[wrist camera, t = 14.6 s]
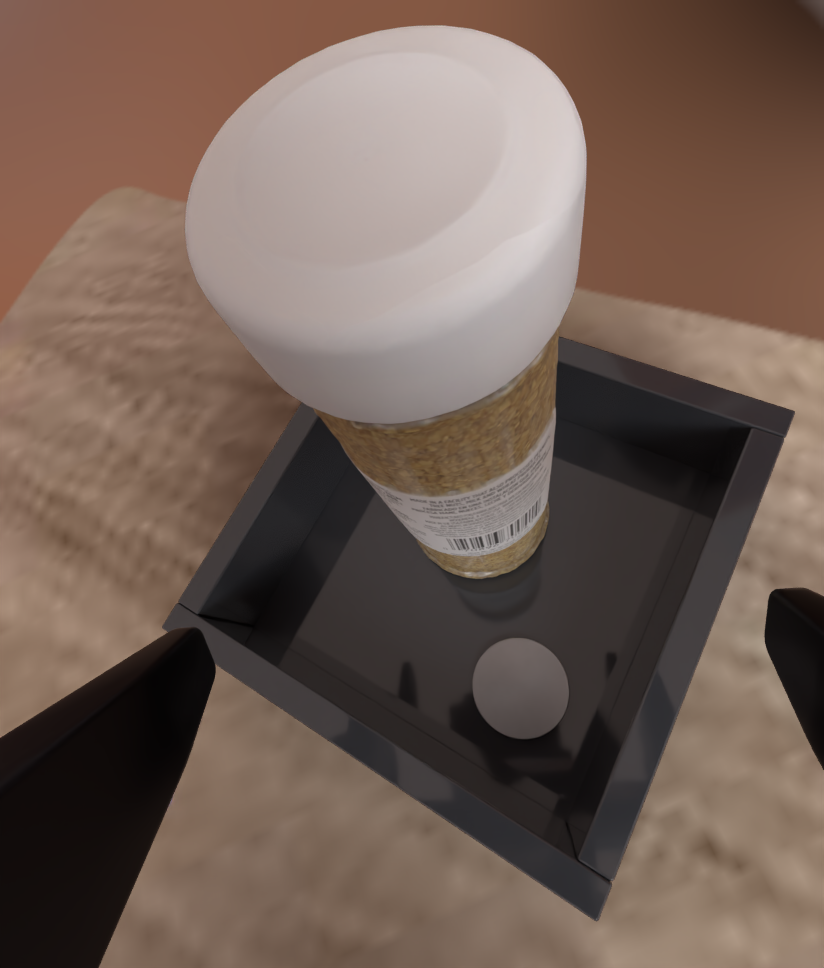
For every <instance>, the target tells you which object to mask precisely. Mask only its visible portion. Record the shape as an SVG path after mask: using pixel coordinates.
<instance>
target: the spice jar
mask: <svg viewBox="0 0 824 968" xmlns="http://www.w3.org/2000/svg"><path fill="white" fill-rule="evenodd" d="M586 155H587V154H586V143H585V138H584V133H583V127H582V122H581V119H580V117H579V114H578V112H577V109H576V107H575V104H574V102H573V100H572V98H571V97H570V95H569V93H568V91H567V89H566V88H565V86H564V85H563V83H562V82H561V81H560V79H559V78H558V77H557V75H555V73H553V71H551V70H550V68H548V67H547V66H546V65H545V64H544V63H543V62H542V61H541V60H540V59H539V58H537V57H536V56H535V55H534V54H532V53H531V52H529V51H527V50H525V49H524V48H522V47H520V46H518V45H516V44H514V43H512V42H510V41H508V40H505V39H503V38H500V37H497V36H494V35H492V34H489V33H485V32H481V31H477V30H474V29H469V28H459V27H451V26H410V27H399V28H394V29H388V30H382V31H377V32H373V33H370V34H366V35H363V36H359V37H356V38H353V39H349V40H347V41H344V42H341V43H338V44H336V45H332V46H330V47H327V48H326V49H323V50H321V51H319V52H317V53H315V54H313V55H311V56H309V57H307V58H305V59H303V60H300V61H299V62H297V63H296V64H294V65H293V66H291V67H289V68H288V69H286V70H285V71H283V72H282V73H280V74H279V75H277V76H276V77H274V78H273V79H272V80H270V81H269V82H268V83H267V84H265V85H264V86H263V87H261V88H260V89H259V90H258V91H256V92H255V93H254V94H253V95H252V96H251V97H249V98H248V99H247V100H246V101H245V102H244V103H243V104H242V105H241V106H240V107H239V108H238V109H237V110H236V111H235V113H233V115H232V116H231V117H230V118H229V119H228V120H227V121H226V122H225V124H224V125H223V126H222V128H221V129H220V130H219V132H218V133H217V135H216V136H215V138H214V139H213V141H212V143H211V144H210V146H209V147H208V149H207V151H206V153H205V154H204V156H203V158H202V160H201V162H200V164H199V166H198V169H197V171H196V173H195V176H194V178H193V181H192V184H191V188H190V191H189V196H188V201H187V206H186V219H185V236H186V245H187V252H188V257H189V260H190V263H191V266H192V269H193V272H194V274H195V277H196V280H197V283H198V284H199V286H200V288H201V289H202V291H203V293H204V294H205V296H206V297H207V299H208V301H209V302H210V303H211V305H212V306H213V307H214V309H215V310H216V312H217V313H218V314H219V315H220V317H221V318H222V319H223V320H224V322H225V323H226V324H227V325H228V326H229V328H230V329H231V330H232V331H233V333H234V334H235V335H236V336H237V338H238V339H239V340H240V341H241V342H242V344H243V345H244V346H245V347H246V349H247V350H248V351H249V352H250V354H251V355H252V356H253V357H254V358H255V359H256V361H257V362H258V363H259V364H260V365H261V366H262V368H263V369H264V370H265V371H266V372H267V373H268V375H269V376H270V377H271V378H272V379H273V380H274V381H275V382H276V383H277V384H278V385H279V386H280V387H281V388H282V389H284V390H285V391H286V392H287V393H288V394H290V395H291V396H293V397H295V398H296V399H298V400H299V401H301V402H303V403H304V404H306V405H307V406H309V407H312V408H313V410H314V411H315V413H316V414H317V415H318V416H319V417H320V418H321V419H322V421H323V422H324V423H325V424H326V426H327V427H328V428H329V430H330V431H331V432H332V434H333V435H334V436H335V437H336V438H337V439H338V440H339V442H340V443H341V445H342V447H343V449H344V451H345V453H346V454H347V455H348V457H349V458H350V460H351V461H352V462H353V464H354V465H355V466H356V467H357V469H358V470H359V471H360V473H361V474H362V475H363V476H364V477H365V479H366V480H367V481H368V482H369V483H370V485H371V486H372V487H373V488H374V489H375V491H376V492H377V493H378V494H379V496H380V497H381V498H382V499H383V501H384V502H385V503H386V504H387V505H388V507H389V508H390V509H391V511H392V512H393V513H394V514H395V515H396V516H397V518H398V519H399V520H400V521H401V522H402V523H403V525H404V526H405V527H406V528H407V529H408V531H409V532H410V533H411V534H412V535H413V536H414V537H415V538H416V539H417V542H418V544H419V545H420V547H421V548H422V550H423V551H424V553H425V554H426V555H427V556H428V558H429V559H431V560H432V561H433V562H435V563H436V564H437V565H438V566H440V567H441V568H443V569H444V570H446V571H448V572H450V573H452V574H455V575H459V576H462V577H466V578H475V579H482V578H486V577H496V576H498V575H500V574H504V573H508V572H510V571H512V570H514V569H516V568H517V567H519V566H520V565H521V564H522V563H524V562H525V561H526V560H528V559H529V558H530V557H531V556H532V555H533V553H534V552H535V550H536V549H537V547H538V545H539V543H540V541H541V540H542V539H543V538H544V536H545V532H546V528H547V525H548V520H549V502H548V493H549V483H550V474H551V465H552V456H553V444H554V433H555V424H556V407H555V398H556V396H555V394H556V380H557V379H556V375H557V362H558V338H559V324H560V323H561V321H562V318H563V316H564V314H565V312H566V310H567V308H568V305H569V303H570V301H571V299H572V296H573V294H574V290H575V285H576V280H577V275H578V266H579V255H580V246H581V236H582V225H583V214H584V199H585V187H586Z"/></svg>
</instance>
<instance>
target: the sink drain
mask: <svg viewBox="0 0 824 968" xmlns="http://www.w3.org/2000/svg"><path fill="white" fill-rule="evenodd" d="M472 691H473V697H474V701H475V704H476V706H477V709H478V711H479V712H480V714H481V716H482V717H483V719H484V720H485V721H486V722H487V723H488V724H489V725H490V726H491V727H492V728H493V729H494V730H496V731H497V732H499V733H501V734H503V735H505V736H507V737H510V738H514V739H521V740H528V739H534V738H538V737H541V736H543V735H545V734H547V733H549V732H550V731H551V730H553V729H554V728H555V727H556V726H557V725H558V724H559V722H560V721H561V720H562V718H563V716H564V714H565V712H566V710H567V707H568V703H569V695H570V690H569V681H568V677H567V674H566V671H565V669H564V667H563V665H562V664H561V662H560V660H559V659H558V658H557V656H556V655H555V654H554V653H553V652H552V651H551V650H549V649H548V648H547V647H546V646H544V645H542V644H541V643H539V642H536V641H534V640H531V639H527V638H508V639H504V640H502V641H499V642H497V643H495V644H494V645H492V646H491V647H489V648H488V649H487V650H486V651H485V652H484V653H483V655H482V656H481V657H480V659H479V661H478V662H477V664H476V667H475V670H474V673H473V679H472Z"/></svg>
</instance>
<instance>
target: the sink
mask: <svg viewBox="0 0 824 968" xmlns="http://www.w3.org/2000/svg"><path fill="white" fill-rule="evenodd" d="M556 379H557V380H556V394H555V396H556V398H555V407H556V424H555V433H554V444H553V456H552V465H551V474H550V483H549V493H548V502H549V520H548V525H547V528H546V532H545V536H544V538H543V539H542V540H541V541H540V543H539V545H538V547H537V549H536V550H535V552H534V553H533V555H532V556H531V557H530V558H529V559H528V560H526V561H525V562H524V563H522V564H521V565H520V566H519V567H517V568H516V569H514V570H512V571H510V572H508V573H504V574H500V575H498V576H496V577H486V578H482V579H475V578H466V577H462V576H459V575H455V574H452V573H450V572H448V571H446V570H444V569H443V568H441V567H440V566H438V565H437V564H436V563H435V562H433V561H432V560H431V559H429V558H428V556H427V555H426V554H425V553H424V551H423V550H422V548H421V547H420V545H419V544H418V542H417V539H416V538H415V537H414V536H413V535H412V534H411V533H410V532H409V531H408V529H407V528H406V527H405V526H404V525H403V523H402V522H401V521H400V520H399V519H398V518H397V516H396V515H395V514H394V513H393V512H392V511H391V509H390V508H389V507H388V505H387V504H386V503H385V502H384V501H383V499H382V498H381V497H380V496H379V494H378V493H377V492H376V491H375V489H374V488H373V487H372V486H371V485H370V483H369V482H368V481H367V480H366V479H365V477H364V476H363V475H362V474H361V473H360V471H359V470H358V469H357V467H356V466H355V465H354V464H353V462H352V461H351V460H350V458H349V457H348V455H347V454H346V453H345V451H344V449H343V447H342V445H341V443H340V442H339V440H338V439H337V438H336V437H335V436H334V435H333V434H332V432H331V431H330V430H329V428H328V427H327V426H326V424H325V423H324V422H323V421H322V419H321V418H320V417H319V416H318V415H317V414H316V413H315V411H314V410H313V408H312V407H309V406H307V405H306V404H304V403H303V402H302V403H301V404H300V406H299V407H298V409H297V411H296V412H295V414H294V416H293V417H292V419H291V420H290V422H289V424H288V425H287V427H286V428H285V430H284V432H283V433H282V435H281V436H280V438H279V440H278V441H277V443H276V444H275V446H274V448H273V449H272V451H271V452H270V454H269V456H268V457H267V459H266V461H265V462H264V464H263V465H262V467H261V469H260V470H259V472H258V473H257V475H256V477H255V478H254V480H253V481H252V483H251V485H250V486H249V488H248V489H247V491H246V493H245V494H244V496H243V498H242V499H241V501H240V502H239V504H238V506H237V507H236V509H235V510H234V512H233V514H232V515H231V517H230V518H229V520H228V522H227V523H226V525H225V526H224V528H223V530H222V531H221V533H220V535H219V536H218V538H217V539H216V541H215V543H214V544H213V546H212V547H211V549H210V551H209V552H208V554H207V555H206V557H205V559H204V560H203V562H202V563H201V565H200V567H199V568H198V570H197V571H196V573H195V575H194V576H193V578H192V580H191V581H190V583H189V584H188V586H187V588H186V589H185V591H184V592H183V594H182V596H181V597H180V599H179V601H178V602H179V603H177V604H176V605H175V607H174V608H173V610H172V611H171V613H170V615H169V616H168V618H167V619H166V621H165V623H164V624H163V626H162V628H163V629H164V630H165V631H167V632H170V631H171V630H173V629H176V628H188V627H196V628H198V629H200V630H201V631H202V633H203V635H204V638H205V640H206V642H207V645H208V647H209V650H210V652H211V655H212V657H213V660H214V663H215V664H216V665H217V666H219V667H220V668H222V669H223V670H225V671H226V672H227V673H229V674H230V675H232V676H233V677H235V678H236V679H238V680H239V681H241V682H242V683H244V684H245V685H247V686H248V687H250V688H251V689H253V690H254V691H256V692H257V693H259V694H260V695H262V696H263V697H264V698H266V699H267V700H269V701H270V702H272V703H273V704H275V705H276V706H278V707H279V708H281V709H282V710H284V711H285V712H287V713H288V714H290V715H291V716H293V717H294V718H296V719H297V720H298V721H300V722H301V723H303V724H304V725H306V726H307V727H309V728H310V729H312V730H313V731H315V732H316V733H318V734H319V735H321V736H322V737H324V738H325V739H327V740H328V741H330V742H331V743H333V744H334V745H335V746H337V747H338V748H340V749H341V750H343V751H344V752H346V753H347V754H349V755H350V756H352V757H353V758H355V759H356V760H358V761H359V762H361V763H362V764H364V765H365V766H367V767H368V768H370V769H371V770H372V771H374V772H375V773H377V774H378V775H380V776H381V777H383V778H384V779H386V780H387V781H389V782H390V783H392V784H393V785H395V786H396V787H398V788H399V789H401V790H402V791H404V792H405V793H406V794H408V795H409V796H411V797H412V798H414V799H415V800H417V801H418V802H420V803H421V804H423V805H424V806H426V807H427V808H429V809H430V810H432V811H433V812H435V813H436V814H438V815H439V816H441V817H442V818H443V819H445V820H446V821H448V822H449V823H451V824H452V825H454V826H455V827H457V828H458V829H460V830H461V831H463V832H464V833H466V834H467V835H469V836H470V837H472V838H473V839H475V840H476V841H477V842H479V843H480V844H482V845H483V846H485V847H486V848H488V849H489V850H491V851H492V852H494V853H495V854H497V855H498V856H500V857H501V858H503V859H504V860H506V861H507V862H509V863H510V864H512V865H513V866H514V867H516V868H517V869H519V870H520V871H522V872H523V873H525V874H526V875H528V876H529V877H531V878H532V879H534V880H535V881H537V882H538V883H540V884H541V885H543V886H544V887H546V888H547V889H548V890H550V891H551V892H553V893H554V894H556V895H557V896H559V897H560V898H562V899H563V900H565V901H566V902H568V903H569V904H571V905H572V906H574V907H575V908H577V909H578V910H580V911H581V912H583V913H584V914H585V915H587V916H588V917H590V918H591V919H593V920H594V921H598V920H599V918H600V916H601V913H602V911H603V908H604V905H605V903H606V900H607V898H608V895H609V893H610V890H611V887H612V882H611V881H613V880H614V879H615V877H616V874H617V871H618V869H619V866H620V864H621V861H622V859H623V856H624V853H625V851H626V848H627V846H628V843H629V840H630V838H631V835H632V833H633V830H634V828H635V825H636V822H637V820H638V817H639V815H640V812H641V809H642V807H643V804H644V802H645V799H646V797H647V794H648V791H649V789H650V786H651V784H652V781H653V778H654V776H655V773H656V771H657V768H658V766H659V763H660V760H661V758H662V755H663V753H664V750H665V747H666V745H667V742H668V740H669V737H670V735H671V732H672V729H673V727H674V724H675V722H676V719H677V716H678V714H679V711H680V709H681V706H682V704H683V701H684V698H685V696H686V693H687V691H688V688H689V685H690V683H691V680H692V678H693V675H694V673H695V670H696V667H697V665H698V662H699V660H700V657H701V654H702V652H703V649H704V647H705V644H706V642H707V639H708V636H709V634H710V631H711V629H712V626H713V623H714V621H715V618H716V616H717V613H718V611H719V608H720V605H721V603H722V600H723V598H724V595H725V592H726V590H727V587H728V585H729V582H730V580H731V577H732V574H733V572H734V569H735V567H736V564H737V561H738V559H739V556H740V554H741V551H742V549H743V546H744V543H745V541H746V538H747V536H748V533H749V530H750V528H751V525H752V523H753V520H754V518H755V515H756V512H757V510H758V507H759V505H760V502H761V499H762V497H763V494H764V492H765V489H766V487H767V484H768V481H769V479H770V476H771V474H772V471H773V468H774V466H775V463H776V461H777V458H778V456H779V453H780V450H781V448H782V445H783V443H784V438H785V437H786V435H787V433H788V430H789V428H790V425H791V422H792V420H793V417H794V415H795V411H793V410H789V409H786V408H783V407H780V406H777V405H774V404H770V403H767V402H764V401H761V400H758V399H755V398H752V397H748V396H745V395H742V394H739V393H736V392H733V391H730V390H726V389H723V388H720V387H717V386H714V385H711V384H707V383H704V382H701V381H698V380H695V379H692V378H689V377H685V376H682V375H679V374H676V373H673V372H670V371H667V370H663V369H660V368H657V367H654V366H651V365H648V364H644V363H641V362H638V361H635V360H632V359H629V358H626V357H622V356H619V355H616V354H613V353H610V352H607V351H604V350H600V349H597V348H594V347H591V346H588V345H585V344H581V343H578V342H575V341H572V340H569V339H566V338H563V337H559V338H558V362H557V375H556ZM508 638H527V639H531V640H534V641H536V642H539V643H541V644H542V645H544V646H546V647H547V648H548V649H549V650H551V651H552V652H553V653H554V654H555V655H556V656H557V658H558V659H559V660H560V662H561V664H562V665H563V667H564V669H565V671H566V674H567V677H568V681H569V690H570V695H569V703H568V707H567V710H566V712H565V714H564V716H563V718H562V720H561V721H560V722H559V724H558V725H557V726H556V727H555V728H554V729H553V730H551V731H550V732H549V733H547V734H545V735H543V736H541V737H538V738H534V739H528V740H521V739H514V738H510V737H507V736H505V735H503V734H501V733H499V732H497V731H496V730H494V729H493V728H492V727H491V726H490V725H489V724H488V723H487V722H486V721H485V720H484V719H483V717H482V716H481V714H480V712H479V711H478V709H477V706H476V704H475V701H474V697H473V691H472V679H473V673H474V670H475V667H476V664H477V662H478V661H479V659H480V657H481V656H482V655H483V653H484V652H485V651H486V650H487V649H488V648H489V647H491V646H492V645H494V644H495V643H497V642H499V641H502V640H504V639H508Z"/></svg>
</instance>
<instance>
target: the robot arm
mask: <svg viewBox="0 0 824 968" xmlns="http://www.w3.org/2000/svg"><path fill="white" fill-rule="evenodd" d="M764 637H765V644H766V648H767V651H768V654H769V656H770V658H771V660H772V662H773V665H774V667H775V669H776V671H777V673H778V676H779V678H780V680H781V682H782V684H783V687H784V689H785V691H786V693H787V695H788V698H789V700H790V702H791V704H792V706H793V709H794V711H795V713H796V715H797V717H798V720H799V722H800V724H801V726H802V729H803V731H804V733H805V735H806V737H807V739H808V741H809V743H810V745H811V747H812V750H813V752H814V753H815V755H816V757H817V759H818V761H819V762H820V764H821V766H822V768H823V770H824V596H822V595H820V594H818V593H816V592H813V591H811V590H809V589H806V588H785V589H775V590H774V591H772V592H771V594H770V596H769V600H768V608H767V617H766V625H765V636H764ZM215 673H216V668H215V663H214V660H213V657H212V655H211V652H210V650H209V647H208V645H207V642H206V640H205V638H204V635H203V633H202V631H201V630H200V629H198V628H196V627H188V628H176V629H173V630H171V631H170V632H168V633H166V634H165V635H163V636H162V637H160V638H158V639H157V640H155V641H154V642H152V643H151V644H149V645H147V646H146V647H144V648H143V649H141V650H139V651H138V652H136V653H135V654H133V655H131V656H130V657H128V658H127V659H125V660H123V661H122V662H120V663H119V664H117V665H115V666H114V667H112V668H111V669H109V670H108V671H106V672H104V673H103V674H101V675H100V676H98V677H96V678H95V679H93V680H92V681H90V682H88V683H87V684H85V685H84V686H82V687H80V688H79V689H77V690H76V691H74V692H73V693H71V694H69V695H68V696H66V697H65V698H63V699H61V700H60V701H58V702H57V703H55V704H53V705H52V706H50V707H49V708H47V709H45V710H44V711H42V712H41V713H39V714H38V715H36V716H34V717H33V718H31V719H30V720H28V721H26V722H25V723H23V724H22V725H20V726H18V727H17V728H15V729H14V730H12V731H10V732H9V733H7V734H6V735H4V736H2V737H1V738H0V968H99V965H100V963H101V961H102V958H103V956H104V954H105V952H106V949H107V947H108V945H109V942H110V940H111V938H112V935H113V933H114V931H115V928H116V926H117V924H118V922H119V919H120V917H121V915H122V912H123V910H124V908H125V905H126V903H127V901H128V898H129V896H130V894H131V891H132V889H133V887H134V885H135V882H136V880H137V878H138V875H139V873H140V871H141V868H142V866H143V864H144V861H145V859H146V857H147V855H148V852H149V850H150V848H151V845H152V843H153V841H154V838H155V836H156V834H157V831H158V829H159V827H160V825H161V822H162V820H163V818H164V815H165V813H166V811H167V808H168V806H169V804H170V801H171V799H172V797H173V794H174V792H175V790H176V788H177V785H178V783H179V781H180V778H181V776H182V773H183V771H184V768H185V766H186V764H187V761H188V758H189V755H190V752H191V750H192V747H193V744H194V740H195V737H196V734H197V731H198V728H199V725H200V722H201V719H202V716H203V713H204V710H205V707H206V704H207V700H208V697H209V694H210V691H211V688H212V685H213V682H214V679H215Z"/></svg>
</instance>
